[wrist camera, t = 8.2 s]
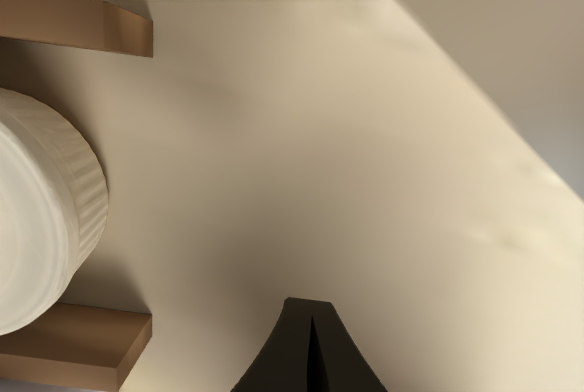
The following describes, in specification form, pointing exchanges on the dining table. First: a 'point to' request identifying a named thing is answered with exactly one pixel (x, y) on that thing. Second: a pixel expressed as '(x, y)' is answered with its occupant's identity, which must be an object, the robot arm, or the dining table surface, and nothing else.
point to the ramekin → (43, 207)
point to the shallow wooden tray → (62, 317)
